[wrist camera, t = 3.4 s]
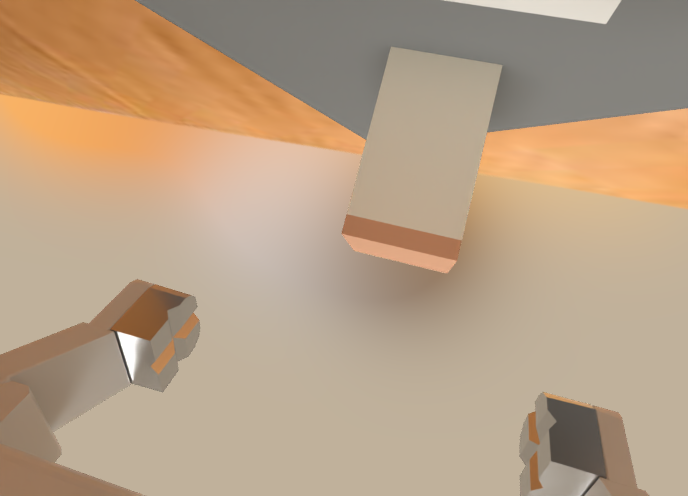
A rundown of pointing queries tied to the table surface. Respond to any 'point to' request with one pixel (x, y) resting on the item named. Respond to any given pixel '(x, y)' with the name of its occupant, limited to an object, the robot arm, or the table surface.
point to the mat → (458, 51)
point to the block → (421, 158)
